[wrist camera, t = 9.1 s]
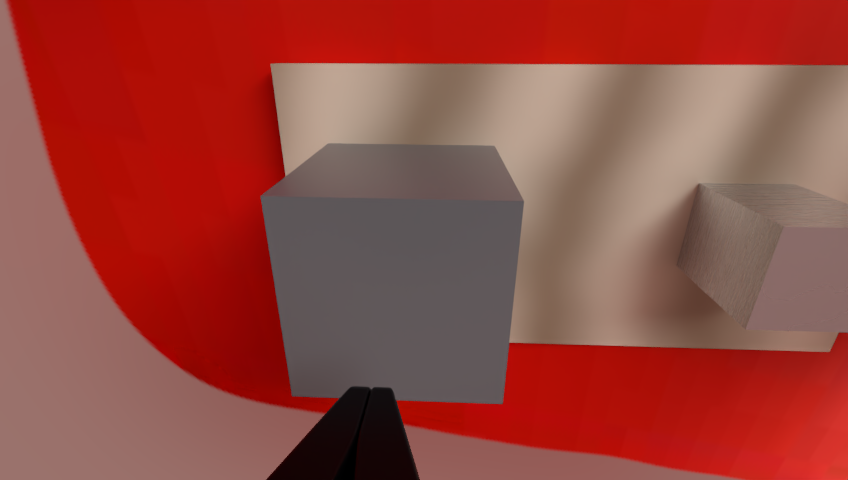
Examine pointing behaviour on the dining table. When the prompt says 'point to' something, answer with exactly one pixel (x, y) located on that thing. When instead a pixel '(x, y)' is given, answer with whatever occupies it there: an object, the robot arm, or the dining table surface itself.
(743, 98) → the board
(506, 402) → the dining table surface
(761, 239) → the grey cube
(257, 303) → the dining table surface
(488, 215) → the gray matte cube
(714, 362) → the dining table surface
